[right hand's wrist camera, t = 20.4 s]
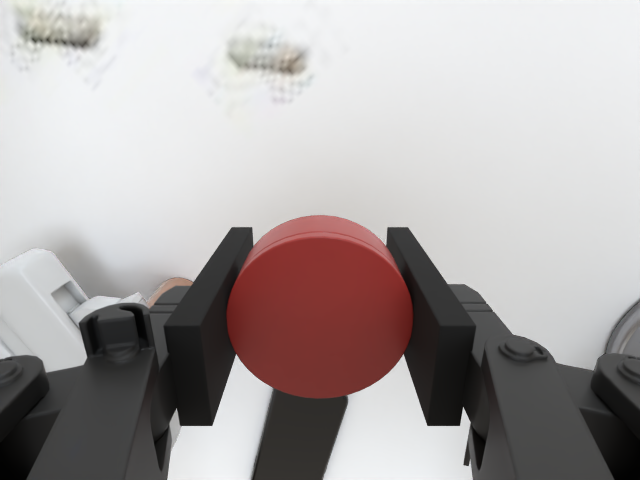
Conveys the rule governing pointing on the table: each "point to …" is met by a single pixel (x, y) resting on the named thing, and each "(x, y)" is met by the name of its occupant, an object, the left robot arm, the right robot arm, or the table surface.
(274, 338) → the lid
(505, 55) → the table surface
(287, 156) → the table surface
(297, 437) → the smartphone
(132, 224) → the table surface
